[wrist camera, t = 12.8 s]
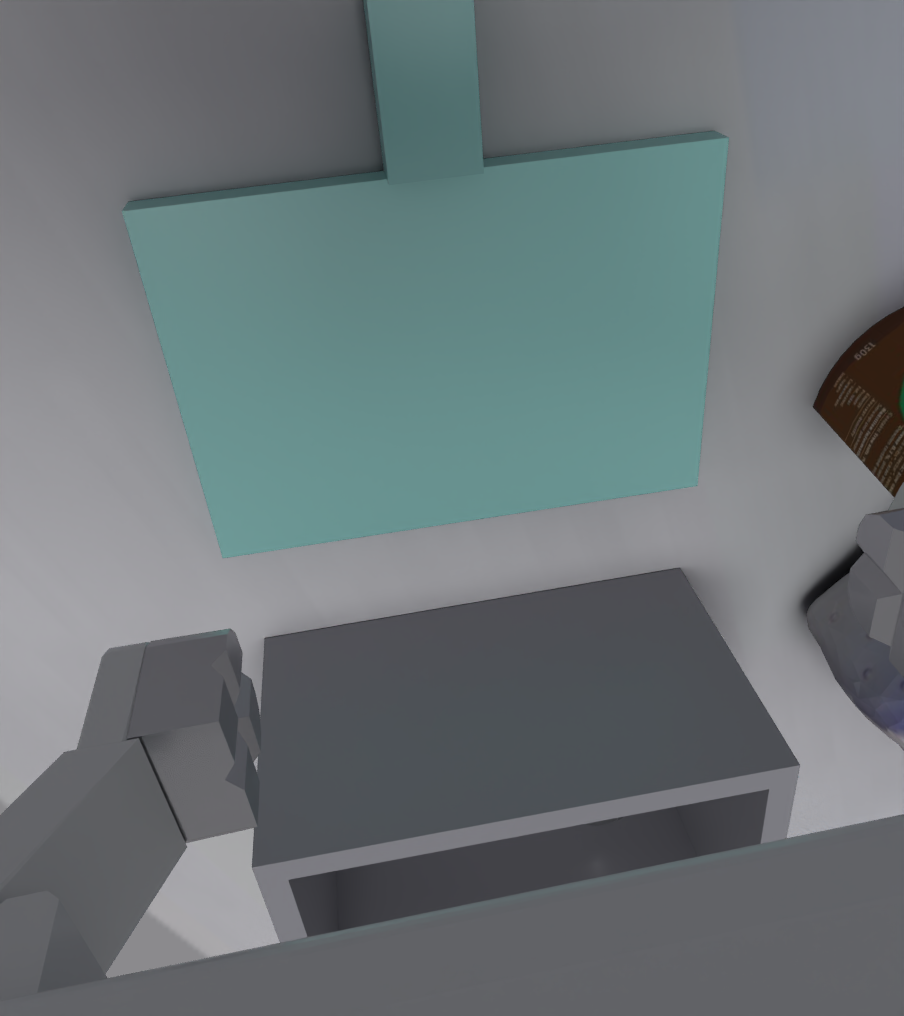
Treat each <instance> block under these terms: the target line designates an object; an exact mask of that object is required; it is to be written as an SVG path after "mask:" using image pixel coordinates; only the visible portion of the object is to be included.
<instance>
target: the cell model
mask: <svg viewBox="0 0 904 1016" xmlns="http://www.w3.org/2000/svg"><path fill="white" fill-rule="evenodd" d="M849 574H850V572H849V573H848V574H847V575H845V576H844V577H843V578H841V579H840V580H839V581H838V582H836V583H835V584H834V585H833V586H832V587H830V588H829V589H828V590H827V591H826V592H824V593H823V594H822V595H821V596H820V597H818V598H817V599H816V600H815V601H814V602H813V603H812V604H811V605H810V607H809V608H808V612H807V615H806V616H807V622H808V627H809V630H810V631H811V633H812V634H813V636H814V638H815V639H816V641H817V642H818V644H819V646H820V647H821V649H822V652H823V654H824V656H825V658H826V660H827V662H828V664H829V667H830V669H831V671H832V673H833V675H834V677H835V679H836V681H837V682H838V683H839V685H840V686H841V688H842V689H843V690H844V692H845V693H846V695H847V696H848V697H849V698H850V700H851V701H852V702H853V703H854V704H855V706H856V707H857V708H858V709H859V710H860V711H861V712H862V713H863V714H864V715H865V717H866V718H867V719H868V720H870V721H871V722H872V723H873V724H874V725H875V726H877V727H878V728H879V729H880V730H881V731H882V732H883V733H885V734H886V735H887V736H888V737H889V738H891V739H892V740H893V741H895V742H896V743H897V744H899V745H900V747H901V748H902V749H903V750H904V678H903V676H902V675H901V674H900V673H899V672H898V671H897V669H896V668H895V667H894V666H893V665H892V663H891V662H890V661H889V655H890V646H889V645H886V644H884V643H882V642H880V641H878V640H875V639H873V638H871V637H869V636H868V635H867V633H866V632H865V631H864V630H863V628H862V627H861V626H860V625H859V623H858V621H857V619H856V617H855V615H854V613H853V611H852V609H851V605H850V600H849V595H848V590H847V588H848V581H849Z"/></svg>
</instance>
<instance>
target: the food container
mask: <svg viewBox="0 0 904 1016" xmlns="http://www.w3.org/2000/svg"><path fill="white" fill-rule="evenodd" d="M813 408H814V409H815V410H816V411H817V412H818V413H819V414H820V416H821V417H822V418H823V419H824V420H825V421H826V422H827V423H828V424H829V426H830V427H831V428H832V429H833V430H834V431H835V432H836V433H837V434H838V436H839V437H840V438H841V439H842V440H843V441H844V442H845V443H846V444H847V446H848V447H849V448H850V449H851V450H852V451H853V452H854V453H855V454H856V456H857V457H858V458H859V459H860V460H861V461H862V462H863V463H864V465H865V466H866V467H867V468H868V469H869V470H870V471H871V472H872V473H873V475H874V476H875V477H876V478H877V479H878V480H879V481H880V482H881V483H882V485H883V486H884V487H885V488H886V489H887V490H888V491H889V492H890V493H891V495H892V496H893V497H894V500H893V502H892V504H891V506H890V508H889V510H894V509H900V508H904V307H903V308H901V309H899V310H897V311H895V312H893V313H892V314H890V315H888V316H886V317H885V318H884V319H882V320H881V321H879V322H878V323H876V324H875V325H873V326H872V327H871V328H869V329H868V330H867V331H866V332H865V333H864V334H863V335H861V336H860V337H859V338H858V339H857V340H856V341H855V342H854V343H853V344H852V345H851V346H850V347H849V348H848V349H847V350H846V351H845V353H844V354H843V355H842V356H841V357H840V359H839V360H838V361H837V363H836V364H835V365H834V367H833V368H832V369H831V371H830V372H829V374H828V376H827V378H826V379H825V381H824V383H823V385H822V386H821V388H820V391H819V393H818V396H817V398H816V400H815V403H814V405H813ZM889 510H888V511H889Z"/></svg>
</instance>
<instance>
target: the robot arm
mask: <svg viewBox="0 0 904 1016" xmlns="http://www.w3.org/2000/svg"><path fill="white" fill-rule="evenodd" d="M856 542H857V543H858V545H859V546H860V547H861V549H862V550H863V551H864V553H863V554H862V556H861V557H860V558H859V559H858V560H857V561H856V562H855V564H854V565H853V566H852V567H851V568H850V574H849V581H848V588H847V590H848V595H849V600H850V605H851V609H852V611H853V613H854V615H855V617H856V619H857V621H858V623H859V625H860V626H861V627H862V628H863V630H864V631H865V632H866V633H867V635H868V636H869V637H871V638H873V639H875V640H878V641H880V642H882V643H884V644H886V645H889V646H890V655H889V661H890V662H891V663H892V665H893V666H894V667H895V668H896V669H897V671H898V672H899V673H900V674H901V675H902V676H903V678H904V508H900V509H894V510H889V511H883V512H878V513H873V514H867V515H865V517H864V518H863V520H862V521H861V523H860V524H859V528H858V532H857V537H856ZM241 668H242V650H241V647H240V644H239V641H238V639H237V636H236V633H235V632H234V631H233V630H232V629H224V630H218V631H212V632H205V633H199V634H193V635H186V636H180V637H174V638H167V639H161V640H154V641H151V642H145V643H139V644H133V645H127V646H121V647H115V648H109V649H108V650H107V652H106V653H105V654H104V655H103V656H102V658H101V662H100V666H99V669H98V673H97V677H96V680H95V684H94V688H93V691H92V695H91V699H90V702H89V706H88V710H87V713H86V717H85V721H84V724H83V728H82V732H81V736H80V739H79V743H78V747H77V750H72V751H67V752H64V753H63V754H62V755H61V756H60V757H59V758H58V759H57V760H56V761H55V762H54V763H53V764H52V765H51V766H50V767H49V768H48V769H47V770H45V771H44V772H43V773H42V774H41V775H40V776H39V777H38V778H37V779H36V780H35V781H34V782H33V783H32V784H31V785H30V786H29V787H28V788H27V789H26V790H25V791H24V792H23V793H22V794H21V795H20V796H19V797H18V798H17V799H16V800H15V801H14V802H13V803H12V804H11V805H10V806H9V807H8V808H7V809H6V810H5V811H4V812H3V813H2V814H1V815H0V1016H904V814H903V815H898V816H893V817H888V818H883V819H878V820H874V821H869V822H864V823H859V824H854V825H849V826H844V827H840V828H835V829H830V830H825V831H820V832H815V833H810V834H806V835H801V836H796V837H791V838H786V839H781V840H776V841H772V842H767V843H762V844H757V845H752V846H747V847H742V848H738V849H733V850H728V851H723V852H718V853H713V854H708V855H704V856H699V857H694V858H689V859H684V860H679V861H675V862H670V863H665V864H660V865H655V866H650V867H645V868H641V869H636V870H631V871H626V872H621V873H616V874H611V875H607V876H602V877H597V878H592V879H587V880H582V881H577V882H573V883H568V884H563V885H558V886H553V887H548V888H543V889H539V890H534V891H529V892H524V893H519V894H514V895H509V896H505V897H500V898H495V899H490V900H485V901H480V902H475V903H471V904H466V905H461V906H456V907H451V908H446V909H442V910H437V911H432V912H427V913H422V914H417V915H412V916H408V917H403V918H398V919H393V920H388V921H383V922H378V923H374V924H369V925H364V926H359V927H354V928H349V929H344V930H340V931H335V932H330V933H325V934H320V935H315V936H311V937H306V938H301V939H296V940H291V941H286V942H281V943H277V944H272V945H267V946H262V947H257V948H252V949H247V950H243V951H238V952H233V953H228V954H223V955H218V956H213V957H209V958H204V959H199V960H194V961H189V962H185V963H180V964H175V965H170V966H165V967H160V968H155V969H150V970H146V971H141V972H136V973H131V974H126V975H121V976H117V977H112V978H107V977H106V975H105V974H106V972H107V971H108V969H109V968H110V966H111V965H112V963H113V961H114V960H115V958H116V957H117V955H118V954H119V952H120V950H121V949H122V947H123V946H124V944H125V943H126V941H127V940H128V938H129V936H130V935H131V933H132V932H133V930H134V929H135V927H136V926H137V924H138V923H139V921H140V919H141V918H142V916H143V915H144V913H145V912H146V910H147V909H148V907H149V905H150V904H151V902H152V901H153V899H154V898H155V896H156V895H157V893H158V891H159V890H160V888H161V887H162V885H163V884H164V882H165V881H166V879H167V877H168V876H169V874H170V873H171V871H172V870H173V868H174V867H175V865H176V863H177V862H178V860H179V859H180V857H181V856H182V854H183V853H184V851H185V849H186V848H187V846H186V843H188V842H192V841H197V840H201V839H206V838H210V837H215V836H219V835H224V834H228V833H233V832H237V831H242V830H246V829H250V828H255V827H258V808H259V787H260V781H259V778H258V775H257V772H256V769H255V766H254V763H253V762H254V760H255V759H256V758H257V757H258V755H259V754H260V753H261V725H260V714H259V707H258V703H257V698H256V693H255V690H254V687H253V684H252V680H251V678H249V677H248V676H246V675H245V674H243V673H242V672H241Z"/></svg>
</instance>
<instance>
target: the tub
mask: <svg viewBox="0 0 904 1016" xmlns="http://www.w3.org/2000/svg"><path fill="white" fill-rule="evenodd" d="M260 725H261V753H260V754H259V755H258V769H257V775H258V778H259V781H260V787H259V808H258V827H255V828H254V840H253V858H252V869H253V872H254V874H255V877H256V880H257V882H258V885H259V888H260V890H261V893H262V896H263V898H264V901H265V904H266V906H267V909H268V912H269V915H270V917H271V920H272V923H273V925H274V928H275V931H276V933H277V936H278V939H279V941H280V943H281V942H286V941H291V940H296V939H301V938H306V937H311V936H315V935H320V934H325V933H330V932H335V931H340V930H344V929H349V928H354V927H359V926H364V925H369V924H374V923H378V922H383V921H388V920H393V919H398V918H403V917H408V916H412V915H417V914H422V913H427V912H432V911H437V910H442V909H446V908H451V907H456V906H461V905H466V904H471V903H475V902H480V901H485V900H490V899H495V898H500V897H505V896H509V895H514V894H519V893H524V892H529V891H534V890H539V889H543V888H548V887H553V886H558V885H563V884H568V883H573V882H577V881H582V880H587V879H592V878H597V877H602V876H607V875H611V874H616V873H621V872H626V871H631V870H636V869H641V868H645V867H650V866H655V865H660V864H665V863H670V862H675V861H679V860H684V859H689V858H694V857H699V856H704V855H708V854H713V853H718V852H723V851H728V850H733V849H738V848H742V847H747V846H752V845H757V844H762V843H767V842H772V841H776V840H781V839H786V838H787V832H788V827H789V822H790V816H791V811H792V806H793V800H794V795H795V790H796V784H797V779H798V774H799V768H800V764H799V762H798V761H797V759H796V758H795V756H794V754H793V753H792V751H791V749H790V748H789V746H788V744H787V743H786V741H785V739H784V738H783V736H782V735H781V733H780V731H779V730H778V728H777V726H776V725H775V723H774V721H773V720H772V718H771V717H770V715H769V713H768V712H767V710H766V708H765V707H764V705H763V703H762V702H761V700H760V699H759V697H758V695H757V694H756V692H755V690H754V689H753V687H752V685H751V684H750V682H749V680H748V679H747V677H746V676H745V674H744V672H743V671H742V669H741V667H740V666H739V664H738V662H737V661H736V659H735V658H734V656H733V654H732V653H731V651H730V649H729V648H728V646H727V644H726V643H725V641H724V639H723V638H722V636H721V635H720V633H719V631H718V630H717V628H716V626H715V625H714V623H713V621H712V620H711V618H710V617H709V615H708V613H707V612H706V610H705V608H704V607H703V605H702V603H701V602H700V600H699V598H698V597H697V595H696V594H695V592H694V590H693V589H692V587H691V585H690V584H689V582H688V580H687V579H686V577H685V576H684V574H683V572H682V571H681V569H680V568H677V569H672V570H666V571H660V572H654V573H648V574H642V575H636V576H630V577H624V578H619V579H613V580H607V581H601V582H595V583H589V584H583V585H577V586H571V587H565V588H560V589H554V590H548V591H542V592H536V593H530V594H524V595H518V596H512V597H507V598H501V599H495V600H489V601H483V602H477V603H471V604H465V605H459V606H454V607H448V608H442V609H436V610H430V611H424V612H418V613H412V614H406V615H400V616H395V617H389V618H383V619H377V620H371V621H365V622H359V623H353V624H347V625H342V626H336V627H330V628H324V629H318V630H312V631H306V632H300V633H294V634H288V635H283V636H277V637H271V638H265V643H264V661H263V679H262V697H261V715H260ZM619 817H623V818H621V819H619V820H617V821H614V822H611V823H608V824H604V825H584V824H587V823H592V822H597V821H603V820H608V819H613V818H619Z"/></svg>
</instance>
